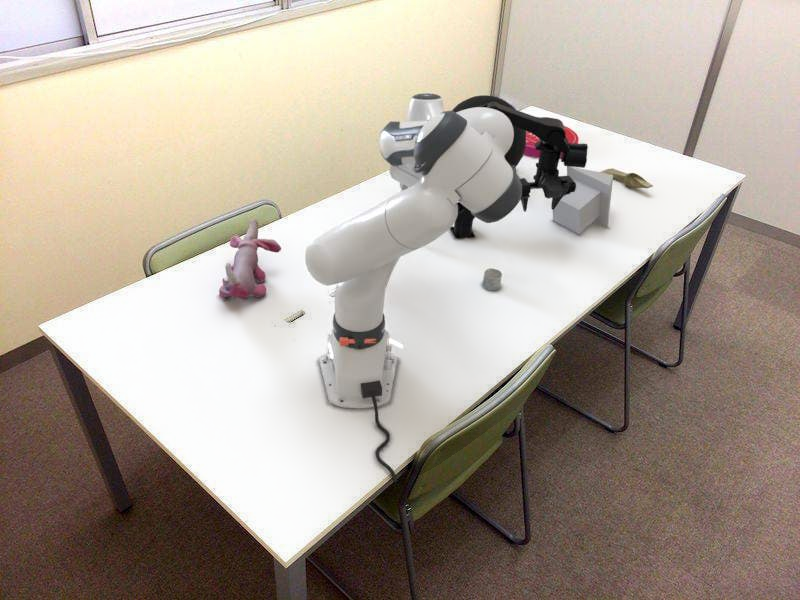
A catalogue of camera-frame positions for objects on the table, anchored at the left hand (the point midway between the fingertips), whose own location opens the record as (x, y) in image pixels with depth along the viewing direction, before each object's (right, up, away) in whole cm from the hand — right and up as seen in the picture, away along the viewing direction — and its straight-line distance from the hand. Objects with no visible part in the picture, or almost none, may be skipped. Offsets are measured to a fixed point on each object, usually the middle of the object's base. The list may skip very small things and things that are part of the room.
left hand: (418, 205), depth 173 cm
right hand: (+38, +2, +27) cm, 46 cm away
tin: (+21, -21, +14) cm, 33 cm away
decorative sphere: (+23, +19, +65) cm, 72 cm away
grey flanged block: (+56, +2, +46) cm, 72 cm away
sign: (+52, +39, +94) cm, 114 cm away
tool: (+79, +18, +69) cm, 106 cm away
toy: (-49, -20, +10) cm, 53 cm away
